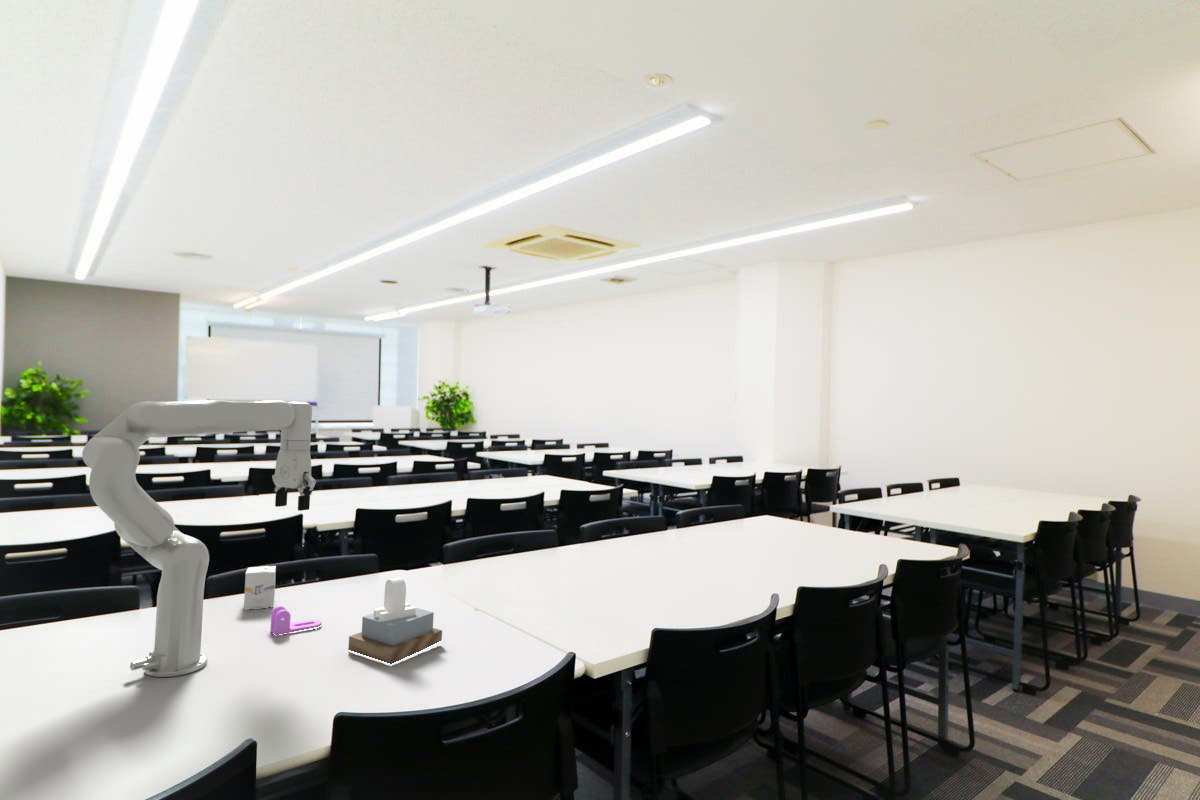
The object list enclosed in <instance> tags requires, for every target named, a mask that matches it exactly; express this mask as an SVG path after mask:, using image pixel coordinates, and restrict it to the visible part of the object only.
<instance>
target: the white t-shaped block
mask: <svg viewBox="0 0 1200 800" xmlns="http://www.w3.org/2000/svg"><path fill="white" fill-rule="evenodd" d="M383 596H384V597H383V598H384V599H383V606H381V607H377V608H374V609H373V613H374V618H379V621H381V622H384V621H389V620H393V619H398V618H403V617H407V616H412V615H415V612H416V608H417V607H416V606H414V605H413V606H411V604H410V603H409V602H406V599H407V598H406V597H407V585H406V581H405V579H404V578H403V577H396V578H388V579H387V580H386V581H385V584H384V595H383ZM410 606H411V607H410Z"/></svg>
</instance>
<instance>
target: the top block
mask: <svg viewBox="0 0 1200 800" xmlns="http://www.w3.org/2000/svg"><path fill="white" fill-rule="evenodd" d="M410 607H412V606H411V605H410ZM361 622H362V623H361V632H362V636H364V637H367V638H371V639H374V640H377V641H380V642H383V643H387V644H390V645H393V646H394V645H396V644H399V643H402V642H404V641H407V640H410V639H412V638H415V637H417V636H420V635H423V634H425V633H428V632H430V631H433V628H434V612H433V611H429V610H426V609H421V608H418V607H416V612H415V615H412V616H407V617H403V618H398V619H393V620H389V621H384V622H381V621H379V618H374V612H373V613H370V614H368V615H365V616H362V621H361Z"/></svg>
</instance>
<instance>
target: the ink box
mask: <svg viewBox="0 0 1200 800" xmlns="http://www.w3.org/2000/svg"><path fill="white" fill-rule="evenodd" d="M276 571H277V566H276V565H271V566H270V565H264V566H262V565H261V566H250V567H247V569H246V571H245V578H244V580H245V581H244V582H245V583H244V598H243V600H244V601H243V602H244V603H243V611H248V610H249V609H254V610H262V609H261V608H266V609H269V608H268V607H273V606H274V605H275V593H276V573H277V572H276ZM273 608H274V607H273ZM249 611H250V610H249Z"/></svg>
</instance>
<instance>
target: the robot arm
mask: <svg viewBox="0 0 1200 800" xmlns="http://www.w3.org/2000/svg"><path fill="white" fill-rule="evenodd" d="M312 418H313V406H312V404H310V403H309V402H302V401H287V402H286V401H284V400H278V399H276V400H272V399H262V400H258V401H232V400H230V401H229V400H218V399H214V400H213V399H209V400H208V399H205V400H204V399H203V400H181V401H180V400H177V401H174V400H173V401H147V400H145V401H140V402H137V403H135V404H133V405H130V407H128V408H127V409H125V411H123V412H122V413H120V414H119V415H118V416H117V417H116V418H115V419H113V421H111V422H110V423H108V425H106V426H105V427H104V428H102V429H101V430H100V431H99V432H97V433H96V434H95V435H94V436H93V437H91V438H90V439H89V440H88V441H87V442H86V443H85V444H84V447H83V449H82V452H81V455H82V460H83V462H84V464H85V465H86V466H87V467H88V468H89V469H91V470H90V471H91V472H90V474H89V480H88V481H89V485H88V487H89V492H90V496H91V498H92V501H93V502H94V504H96V506H97V507H98V508H99V509H100V510H101V511H102V512H103V513H104V514H105V515H106V516H107V517H108V518H110V520H111V521H112V522H114V529H115V532H116V533H117V535H118V536H119V537H120V538H121V539H122V540H123V541H124V542H125V543H126V544H127V545H128V546H130V547H131V548H132V549H133V550H134V551H135V552H136V553H137V554H138V555H140V556H141V557H142V558H143V559H144V560H145V561H147V562H148V563H149V564H150V565H152V566H153V567H155V568H156V569H158V570H160V571H161V577H160V581H159V584H158V589H157V594H156V614H155V629H154V630H155V633H154V647H153V650H152V651H149V653H148V656H145V658H144V659H139V660H134V661H131V662H130V664H129V668H130V670H131V671H135V670H136V671H137V670H140V669H142V671H144V672H145V674H146V675H148V676H151V677H157V678H170V677H178V676H183V675H188V674H190V673H193V672H196V671H199V670H200V669H203V668H204V667H205V666H206V665H207V664H208V656H207V655H205V654H203V653H201V648H202V634H203V633H202V630H203V614H204V609H203V608H204V597H205V594H204V593H205V585H206V584H205V582H206V576H207V572H208V567H209V562H210V553H209V549H208V548H207V546H206V544H205V543H204V542H202V541H201V540H200V539H198V538H196V537H194V536H191V535H188V534H184V533H183V532H181V530H179V529H178V527H176V526H175V521H174V519H173V517H172V515H171V514H170V513H169V512H168V511H167V510H166V509H165V508H163V507H162V506H161V505H160V504H159V503H157V502H156V500H155V499H153V498H152V497H151V496H150V495H149V494H148V493H147V492H146V491H145V490H144V488H143V487H142V486H140V484H139V483H138V481H137V478H136V477H137V476H136V473H137V468H138V466H139V463H140V459H141V453H140V449H139V448H140V447H141V446H143V444H145V442H146V441H148V440H149V439H150V438H172V437H183V436H185V437H186V436H197V435H198V436H201V435H215V434H216V435H217V434H219V435H221V434H231V433H232V434H233V433H245V432H260V431H261V432H262V431H275V430H280V431H281V432H280V447H279V451H278V453H277V457H276V462H275V469H274V470H275V471H274V474H272V476H271V478H272V482H273V483H272V485H273V487H274V492H275V499H274V500H275V501H274V502H275V504H274V506H275V507H276V508H278V507H285V506H287V505H288V491H287V489H297V490H298V493H299V495H298V498H297V500H298V501H297V511H300V512H301V511H308V510H310V502H311V501H310V500H311V496H312V494H313V493H312V492H313V491H314V489H315V485H316V483H317V480H316V479H315V478H314V477H313V476H312V458H311V442H312V440H311V436H312V423H313V422H312Z"/></svg>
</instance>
